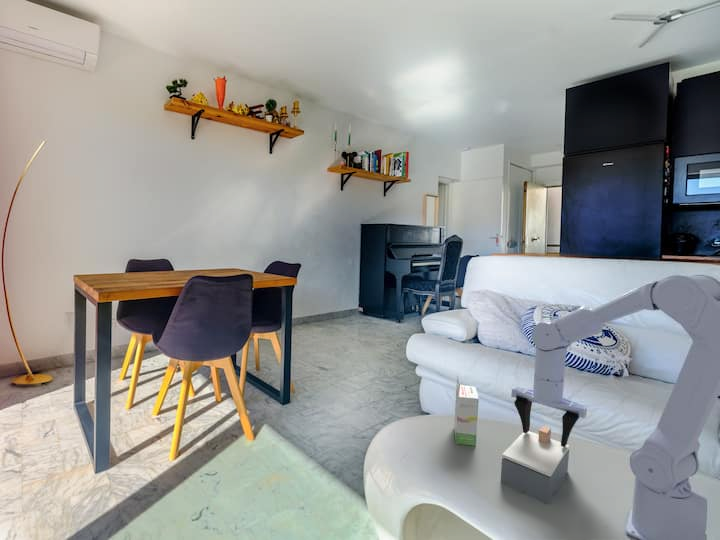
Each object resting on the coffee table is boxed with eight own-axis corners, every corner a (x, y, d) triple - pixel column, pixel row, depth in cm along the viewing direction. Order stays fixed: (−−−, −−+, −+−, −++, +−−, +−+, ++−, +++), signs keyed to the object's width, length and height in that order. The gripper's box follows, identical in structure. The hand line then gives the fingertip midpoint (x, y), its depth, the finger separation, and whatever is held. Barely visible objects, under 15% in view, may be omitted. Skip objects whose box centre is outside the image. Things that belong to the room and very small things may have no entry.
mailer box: (567, 471, 78) (569, 449, 78) (548, 504, 68) (550, 478, 68) (523, 454, 84) (525, 433, 84) (500, 482, 74) (502, 458, 74)
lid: (569, 447, 78) (570, 433, 78) (550, 477, 68) (551, 461, 68) (525, 432, 84) (526, 419, 84) (502, 456, 74) (503, 442, 74)
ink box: (476, 447, 87) (480, 386, 86) (455, 444, 88) (458, 384, 87) (473, 429, 95) (476, 374, 94) (453, 427, 96) (456, 372, 95)
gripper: (591, 381, 77) (586, 443, 78) (520, 364, 87) (516, 420, 88) (584, 390, 72) (579, 457, 73) (509, 371, 81) (505, 430, 82)
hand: (544, 437), depth 80 cm, fingers open, 7 cm apart
